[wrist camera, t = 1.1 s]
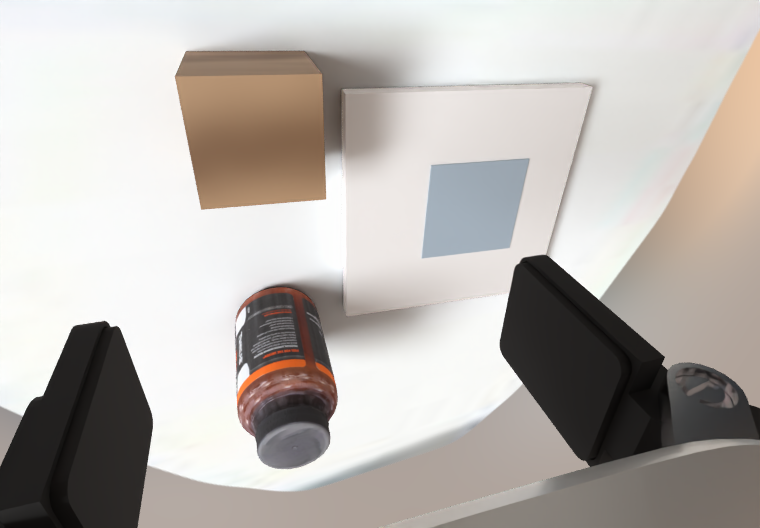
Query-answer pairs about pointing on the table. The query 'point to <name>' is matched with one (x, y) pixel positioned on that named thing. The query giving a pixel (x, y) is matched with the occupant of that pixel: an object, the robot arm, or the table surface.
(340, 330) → the table surface
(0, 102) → the table surface
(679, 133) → the table surface
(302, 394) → the supplement bottle
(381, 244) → the plate
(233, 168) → the walnut cube
